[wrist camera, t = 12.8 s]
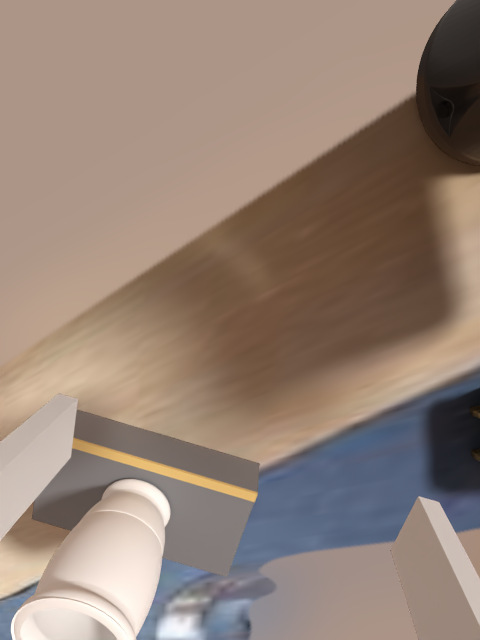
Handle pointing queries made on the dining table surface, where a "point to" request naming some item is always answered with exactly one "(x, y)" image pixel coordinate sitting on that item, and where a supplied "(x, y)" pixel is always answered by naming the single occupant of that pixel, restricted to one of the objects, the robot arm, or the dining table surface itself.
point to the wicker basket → (476, 411)
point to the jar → (101, 570)
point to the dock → (165, 474)
